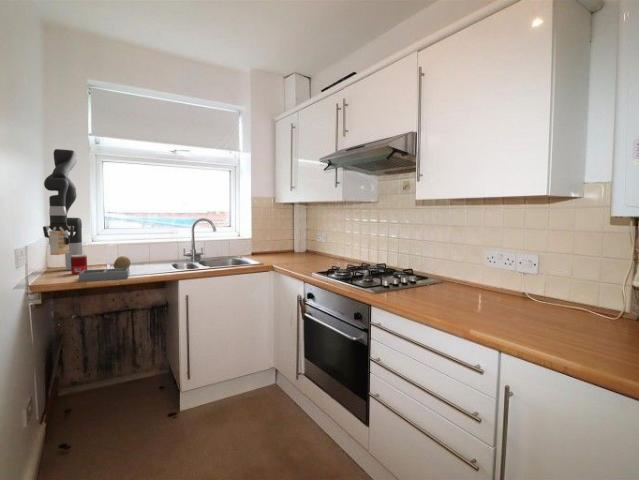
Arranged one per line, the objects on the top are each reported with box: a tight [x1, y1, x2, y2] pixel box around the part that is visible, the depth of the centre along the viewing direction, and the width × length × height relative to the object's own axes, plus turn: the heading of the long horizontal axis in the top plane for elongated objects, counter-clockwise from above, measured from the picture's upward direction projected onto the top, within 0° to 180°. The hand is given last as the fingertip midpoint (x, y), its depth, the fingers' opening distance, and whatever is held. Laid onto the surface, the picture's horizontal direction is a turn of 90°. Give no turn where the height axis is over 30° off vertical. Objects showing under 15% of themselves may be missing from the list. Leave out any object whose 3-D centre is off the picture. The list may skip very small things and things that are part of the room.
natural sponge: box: [113, 256, 131, 269], centre depth 217 cm, size 9×9×10 cm
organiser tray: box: [78, 267, 130, 282], centre depth 199 cm, size 13×23×4 cm, turn 115°
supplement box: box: [48, 230, 69, 256], centre depth 194 cm, size 8×5×13 cm, turn 179°
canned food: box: [70, 254, 88, 276], centre depth 212 cm, size 8×8×11 cm
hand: (59, 244), depth 195 cm, fingers closed on supplement box, 6 cm apart
